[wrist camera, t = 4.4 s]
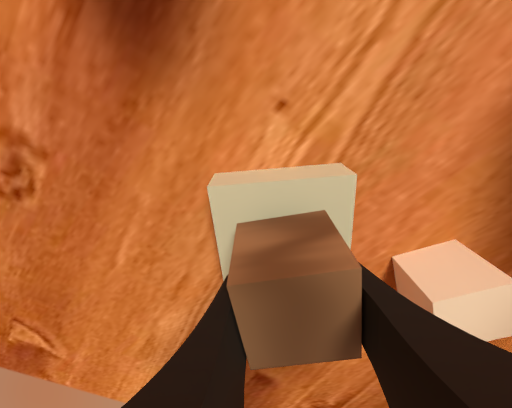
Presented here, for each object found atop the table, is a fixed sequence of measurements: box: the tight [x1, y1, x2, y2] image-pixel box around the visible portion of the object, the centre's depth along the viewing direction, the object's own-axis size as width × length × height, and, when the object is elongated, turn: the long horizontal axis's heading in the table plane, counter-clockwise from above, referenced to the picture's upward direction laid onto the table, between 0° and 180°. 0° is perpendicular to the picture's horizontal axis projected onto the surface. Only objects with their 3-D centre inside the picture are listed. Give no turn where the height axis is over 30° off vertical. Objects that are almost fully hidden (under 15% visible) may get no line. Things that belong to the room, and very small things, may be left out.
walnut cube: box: [227, 210, 362, 370], centre depth 11 cm, size 4×4×4 cm
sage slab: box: [207, 163, 357, 281], centre depth 16 cm, size 8×8×3 cm
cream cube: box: [392, 240, 512, 341], centre depth 16 cm, size 4×4×4 cm
